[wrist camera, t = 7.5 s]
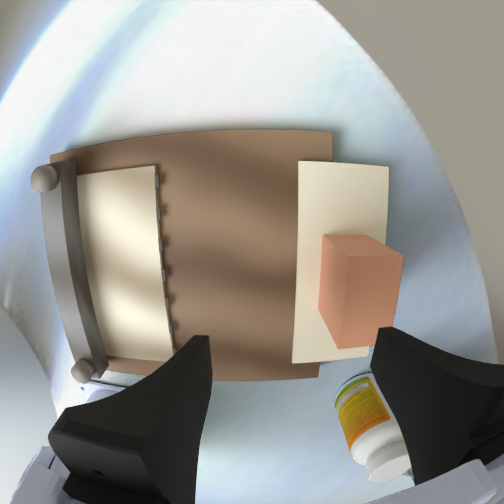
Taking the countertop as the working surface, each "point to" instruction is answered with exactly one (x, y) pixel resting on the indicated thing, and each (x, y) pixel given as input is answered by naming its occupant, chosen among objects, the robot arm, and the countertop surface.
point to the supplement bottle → (371, 429)
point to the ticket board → (179, 249)
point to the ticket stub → (342, 261)
